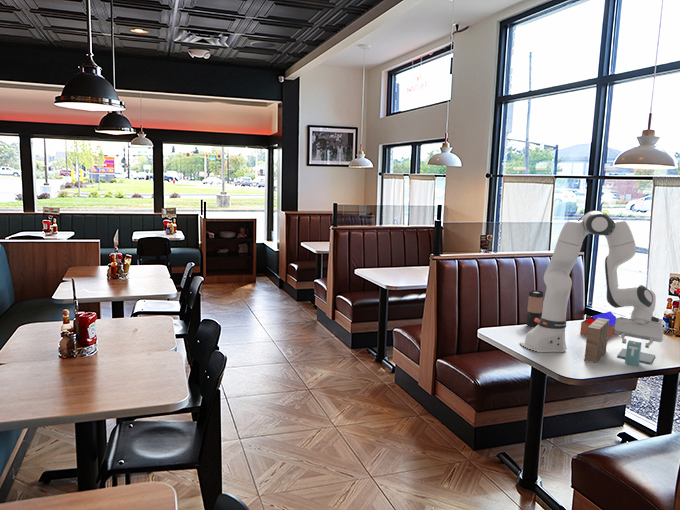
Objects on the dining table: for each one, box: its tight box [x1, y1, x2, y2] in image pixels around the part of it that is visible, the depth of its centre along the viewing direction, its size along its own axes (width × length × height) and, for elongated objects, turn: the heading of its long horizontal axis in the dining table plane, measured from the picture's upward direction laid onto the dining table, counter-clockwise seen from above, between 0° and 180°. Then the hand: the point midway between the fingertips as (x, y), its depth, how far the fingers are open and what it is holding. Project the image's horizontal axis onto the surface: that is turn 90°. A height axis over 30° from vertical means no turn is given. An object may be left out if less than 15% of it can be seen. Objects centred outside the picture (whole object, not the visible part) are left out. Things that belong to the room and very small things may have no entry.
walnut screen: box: [584, 318, 609, 364], centre depth 247 cm, size 22×5×16 cm, turn 142°
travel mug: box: [526, 289, 544, 329], centre depth 294 cm, size 8×8×20 cm
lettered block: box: [624, 340, 642, 367], centre depth 238 cm, size 5×5×10 cm
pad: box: [616, 348, 656, 365], centre depth 248 cm, size 14×14×1 cm
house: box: [579, 311, 617, 338], centre depth 283 cm, size 12×20×12 cm, turn 127°
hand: (635, 345), depth 240 cm, fingers open, 8 cm apart
